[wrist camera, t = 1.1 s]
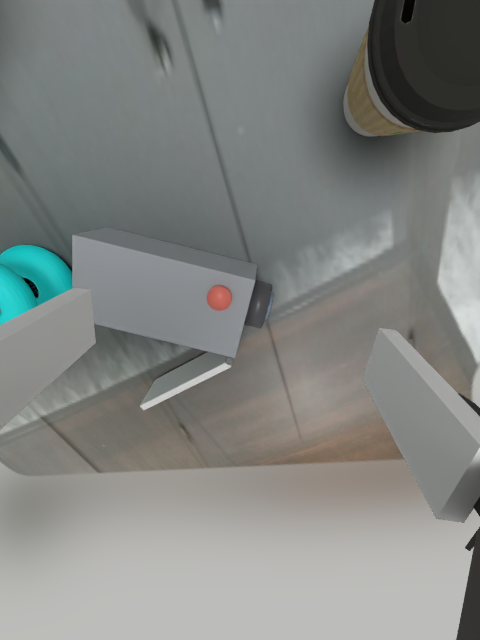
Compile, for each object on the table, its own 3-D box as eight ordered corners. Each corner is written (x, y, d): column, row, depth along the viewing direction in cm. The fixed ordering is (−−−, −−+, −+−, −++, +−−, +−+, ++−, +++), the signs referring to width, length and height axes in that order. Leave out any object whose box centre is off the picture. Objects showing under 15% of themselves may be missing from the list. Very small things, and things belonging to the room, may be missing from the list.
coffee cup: (415, 160, 29) (548, 129, 16) (316, 155, 30) (360, 122, 16) (448, 31, 25) (664, -161, 12) (333, 28, 26) (410, -158, 12)
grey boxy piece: (104, 299, 38) (67, 323, 31) (108, 227, 34) (67, 235, 27) (257, 336, 38) (255, 368, 31) (276, 269, 35) (279, 288, 28)
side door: (160, 383, 42) (144, 414, 36) (153, 375, 42) (135, 404, 36) (242, 341, 38) (238, 367, 33) (235, 331, 38) (230, 356, 32)
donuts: (-33, 364, 31) (-100, 278, 28) (35, 326, 40) (-10, 257, 37) (43, 341, 29) (-19, 245, 26) (96, 306, 39) (55, 232, 35)
